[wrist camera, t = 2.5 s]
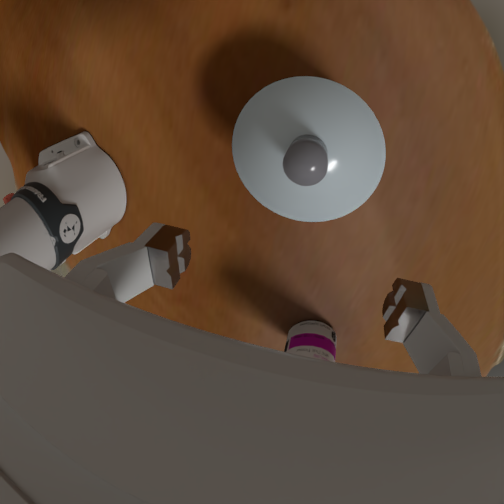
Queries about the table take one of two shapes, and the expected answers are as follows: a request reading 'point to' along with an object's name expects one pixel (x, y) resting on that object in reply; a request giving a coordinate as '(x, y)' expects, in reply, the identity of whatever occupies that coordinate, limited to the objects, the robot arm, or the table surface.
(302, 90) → the lid
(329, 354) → the supplement can
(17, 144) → the table surface
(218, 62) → the table surface
